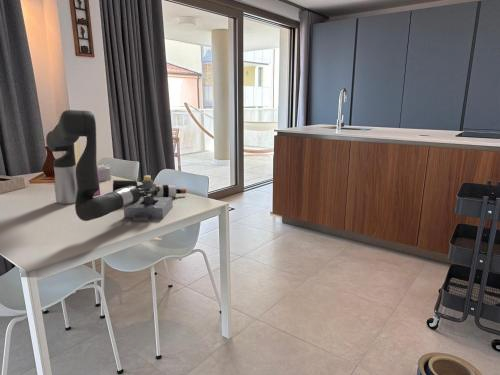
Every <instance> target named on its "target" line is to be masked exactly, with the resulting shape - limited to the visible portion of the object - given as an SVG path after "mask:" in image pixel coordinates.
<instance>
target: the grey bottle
mask: <svg viewBox="0 0 500 375" xmlns="http://www.w3.org/2000/svg"><path fill="white" fill-rule="evenodd" d="M151 178H152V177H151V175H143V180H142V181H141V184H142V187H143V188H149V189H151V188H153V184H154V180H153V179H151ZM150 191H151V190H150ZM146 192H147V190H145V193H146ZM143 201H144V204H150V205H154V197H151V198H147V197H143Z"/></svg>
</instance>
